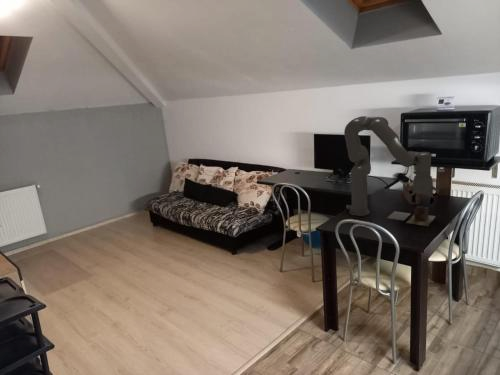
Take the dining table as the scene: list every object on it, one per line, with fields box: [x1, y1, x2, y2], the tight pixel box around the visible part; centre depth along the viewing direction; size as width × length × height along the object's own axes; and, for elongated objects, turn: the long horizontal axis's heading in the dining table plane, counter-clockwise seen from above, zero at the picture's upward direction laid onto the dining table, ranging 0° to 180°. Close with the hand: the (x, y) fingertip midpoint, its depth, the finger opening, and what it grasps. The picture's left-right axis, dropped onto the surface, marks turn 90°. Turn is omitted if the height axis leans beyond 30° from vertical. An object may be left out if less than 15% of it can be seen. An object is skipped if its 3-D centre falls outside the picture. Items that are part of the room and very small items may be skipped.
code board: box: [405, 213, 436, 227], centre depth 225 cm, size 12×18×1 cm, turn 142°
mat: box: [386, 210, 411, 221], centre depth 234 cm, size 10×14×1 cm
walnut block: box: [413, 205, 429, 222], centre depth 224 cm, size 6×6×7 cm
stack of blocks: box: [402, 181, 422, 205], centre depth 261 cm, size 21×6×12 cm, turn 171°
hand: (422, 202), depth 222 cm, fingers open, 9 cm apart
